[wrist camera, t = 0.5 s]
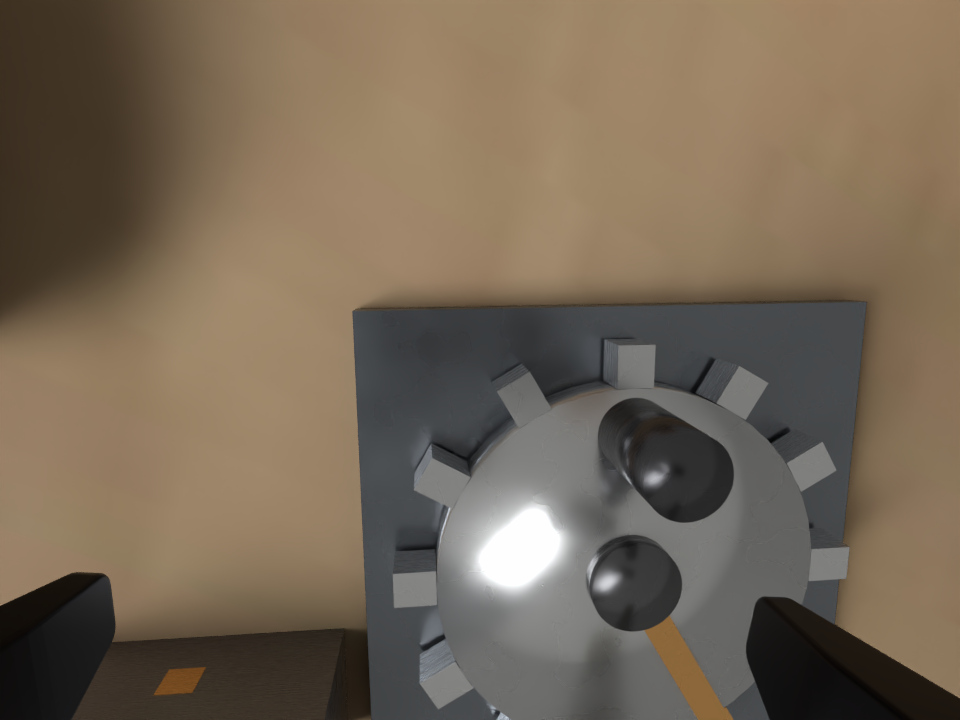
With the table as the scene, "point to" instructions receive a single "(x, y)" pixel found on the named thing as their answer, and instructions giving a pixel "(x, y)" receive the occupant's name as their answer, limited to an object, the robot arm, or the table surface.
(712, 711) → the sprocket wheel
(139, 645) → the chain link
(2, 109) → the table surface
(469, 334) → the base plate
